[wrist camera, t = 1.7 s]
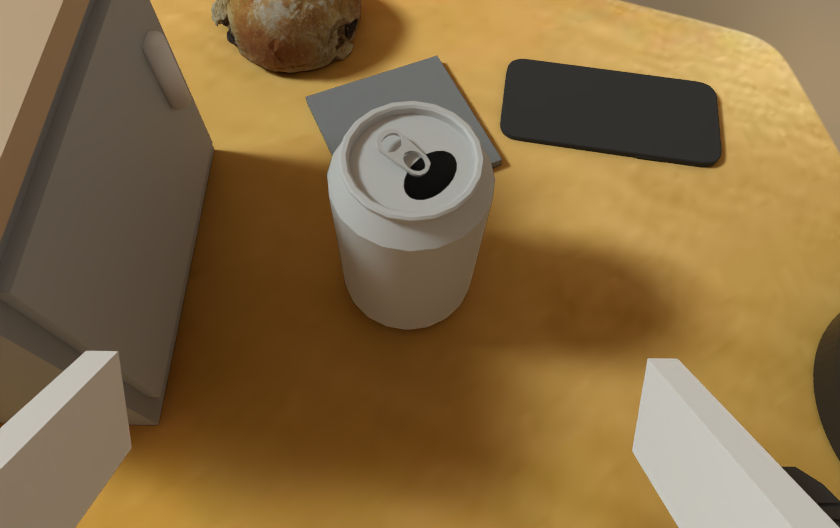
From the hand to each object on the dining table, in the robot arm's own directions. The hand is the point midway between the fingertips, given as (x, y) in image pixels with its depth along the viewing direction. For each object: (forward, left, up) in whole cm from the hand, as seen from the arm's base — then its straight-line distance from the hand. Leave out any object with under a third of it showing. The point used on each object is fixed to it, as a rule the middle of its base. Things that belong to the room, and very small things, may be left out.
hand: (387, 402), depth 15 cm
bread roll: (-6, -33, -18) cm, 38 cm away
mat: (-9, -20, -17) cm, 28 cm away
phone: (-24, -16, -18) cm, 34 cm away
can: (-5, -10, -18) cm, 21 cm away
